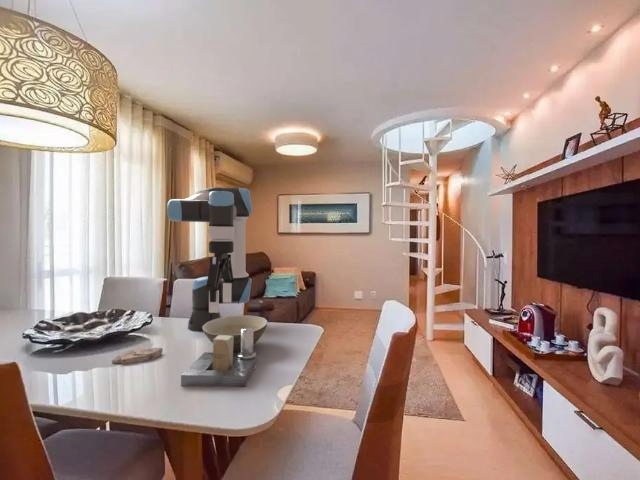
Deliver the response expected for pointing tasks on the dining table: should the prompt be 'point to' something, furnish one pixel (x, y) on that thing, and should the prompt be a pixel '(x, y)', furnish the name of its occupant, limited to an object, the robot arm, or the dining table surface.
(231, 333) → the bowl
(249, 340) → the round door knob
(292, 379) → the dining table surface
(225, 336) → the box
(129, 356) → the stone
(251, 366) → the square recessed tray
